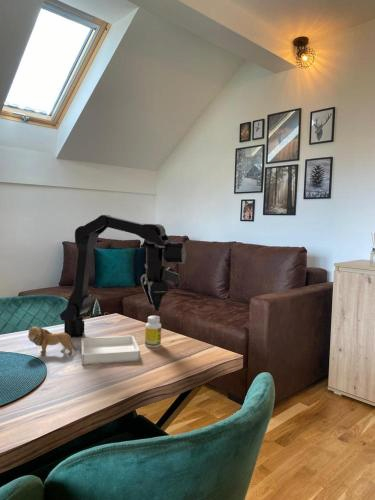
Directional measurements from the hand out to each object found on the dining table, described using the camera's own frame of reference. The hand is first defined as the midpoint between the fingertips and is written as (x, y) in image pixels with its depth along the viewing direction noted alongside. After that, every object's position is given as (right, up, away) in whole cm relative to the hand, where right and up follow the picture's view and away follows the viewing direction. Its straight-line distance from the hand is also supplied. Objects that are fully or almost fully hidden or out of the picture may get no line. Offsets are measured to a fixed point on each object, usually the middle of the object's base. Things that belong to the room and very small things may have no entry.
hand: (153, 307), depth 127 cm
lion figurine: (-31, -13, -10) cm, 35 cm away
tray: (-13, -13, -8) cm, 20 cm away
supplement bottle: (0, -13, +1) cm, 13 cm away
